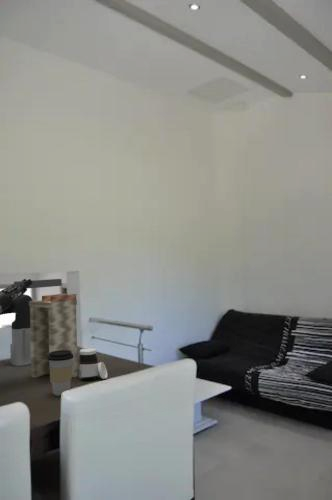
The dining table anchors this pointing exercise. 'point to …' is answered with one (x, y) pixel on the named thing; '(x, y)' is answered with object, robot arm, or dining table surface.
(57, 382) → the coffee cup
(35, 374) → the wooden open box
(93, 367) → the spread jar
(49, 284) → the bar
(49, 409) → the dining table surface
